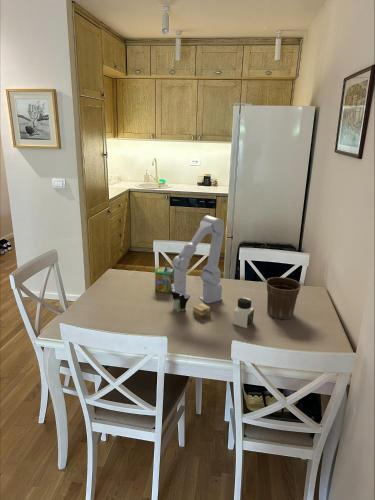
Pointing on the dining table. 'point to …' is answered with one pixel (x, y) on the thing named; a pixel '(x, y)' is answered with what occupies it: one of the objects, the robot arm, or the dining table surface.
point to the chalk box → (164, 279)
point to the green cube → (177, 305)
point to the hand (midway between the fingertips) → (179, 306)
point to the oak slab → (201, 309)
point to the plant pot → (281, 297)
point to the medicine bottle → (243, 313)
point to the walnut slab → (201, 315)
